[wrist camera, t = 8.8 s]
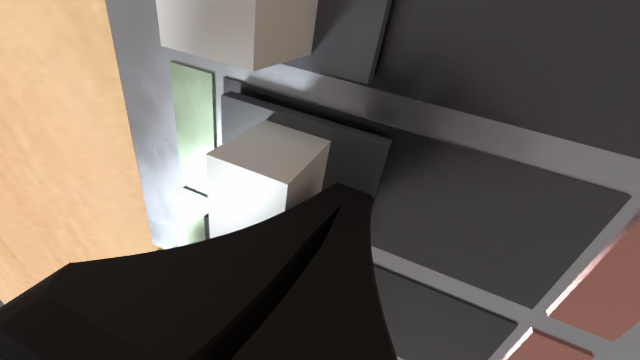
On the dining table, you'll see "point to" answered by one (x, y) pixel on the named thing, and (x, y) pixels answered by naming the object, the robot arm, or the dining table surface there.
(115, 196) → the dining table surface
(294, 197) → the breaker mid
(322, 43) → the block
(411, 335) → the panel
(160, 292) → the robot arm
